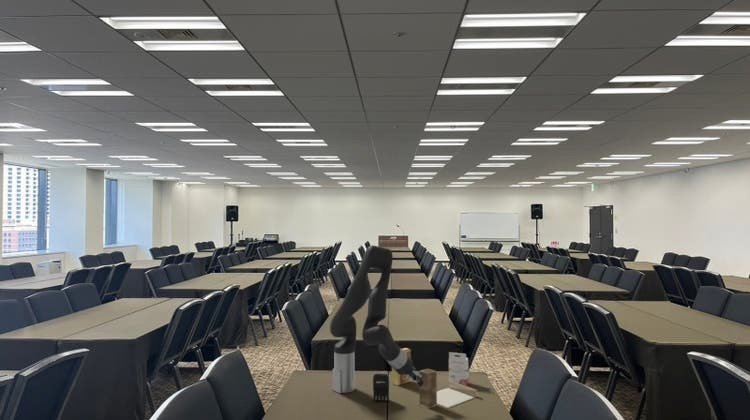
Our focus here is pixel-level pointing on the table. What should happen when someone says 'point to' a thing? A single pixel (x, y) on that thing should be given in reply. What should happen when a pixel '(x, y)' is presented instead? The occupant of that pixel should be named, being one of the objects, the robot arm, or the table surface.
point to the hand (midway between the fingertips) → (421, 384)
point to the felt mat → (451, 398)
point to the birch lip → (463, 389)
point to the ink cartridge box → (458, 368)
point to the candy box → (398, 378)
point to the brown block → (428, 388)
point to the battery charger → (381, 387)
